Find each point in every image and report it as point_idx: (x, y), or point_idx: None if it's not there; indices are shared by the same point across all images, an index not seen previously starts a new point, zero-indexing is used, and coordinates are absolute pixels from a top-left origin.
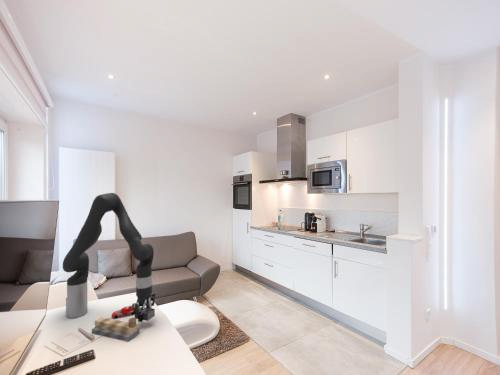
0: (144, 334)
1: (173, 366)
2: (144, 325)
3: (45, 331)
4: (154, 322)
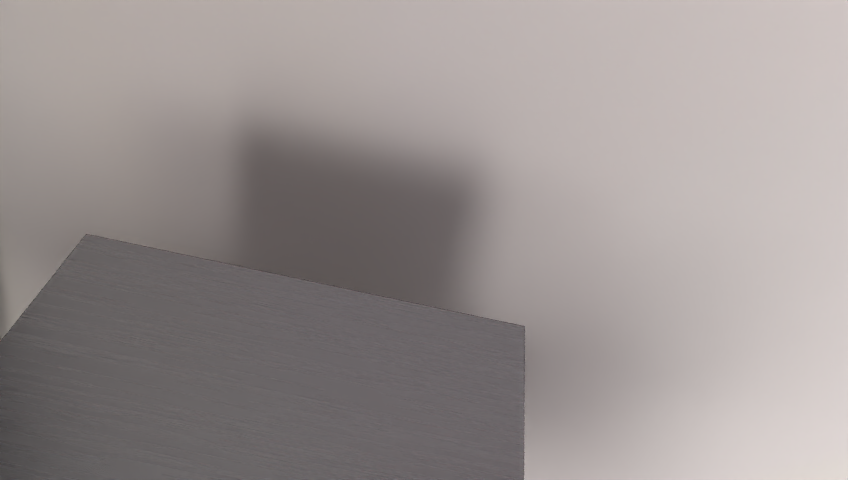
0: None
1: None
2: None
3: None
4: None
